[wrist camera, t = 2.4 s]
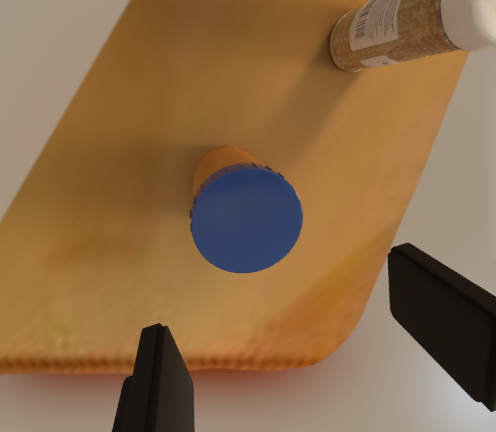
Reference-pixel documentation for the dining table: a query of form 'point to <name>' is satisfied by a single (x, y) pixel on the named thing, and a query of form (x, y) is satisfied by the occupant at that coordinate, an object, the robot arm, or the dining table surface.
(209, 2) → the dining table surface
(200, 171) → the jar
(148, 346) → the robot arm
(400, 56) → the sprinkles bottle
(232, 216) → the lid
